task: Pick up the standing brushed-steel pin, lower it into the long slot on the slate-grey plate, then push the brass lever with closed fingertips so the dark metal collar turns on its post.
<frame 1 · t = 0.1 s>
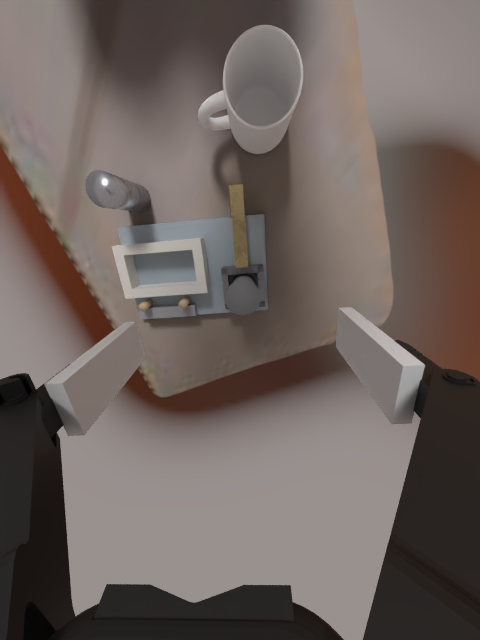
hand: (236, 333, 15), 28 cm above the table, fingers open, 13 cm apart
mug: (246, 125, 34), on the table
pin: (138, 198, 38), on the table
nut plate: (197, 269, 42), on the table
ring lever: (241, 251, 38), point 3 cm above the table, hinge at 0.0°
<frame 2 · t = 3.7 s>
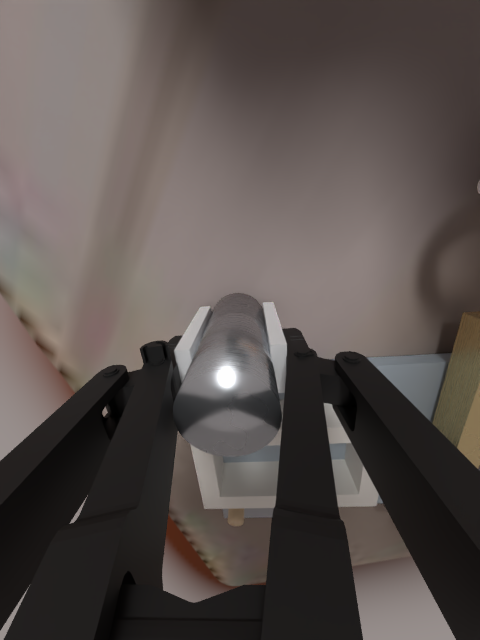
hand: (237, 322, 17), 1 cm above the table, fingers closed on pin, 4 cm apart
pin: (238, 318, 18), on the table, touching gripper
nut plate: (335, 434, 22), on the table
ring lever: (458, 431, 18), point 3 cm above the table, hinge at 0.0°
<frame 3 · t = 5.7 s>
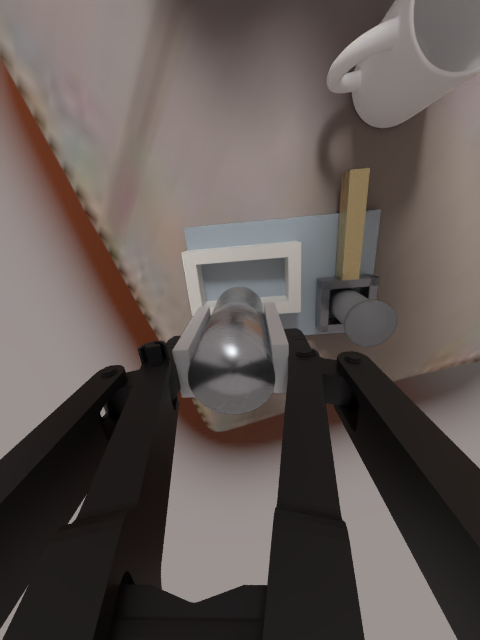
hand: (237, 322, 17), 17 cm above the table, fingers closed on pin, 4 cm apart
mug: (369, 88, 25), on the table
pin: (239, 309, 20), point 14 cm above the table, touching gripper
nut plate: (280, 281, 33), on the table
ring lever: (348, 258, 29), point 3 cm above the table, hinge at 0.0°
when the fingers open (4 cm above the table, at t = 8.2 s): pin stays where it is, resting on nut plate.
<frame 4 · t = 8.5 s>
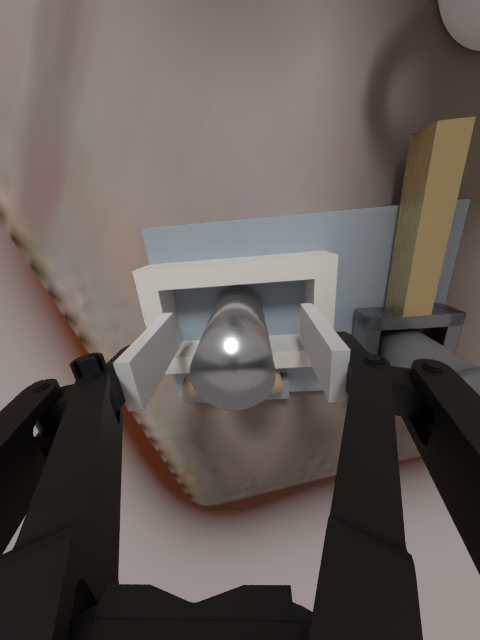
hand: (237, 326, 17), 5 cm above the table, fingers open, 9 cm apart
pin: (239, 308, 20), point 1 cm above the table, touching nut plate
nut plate: (295, 310, 21), on the table
ring lever: (412, 279, 17), point 3 cm above the table, hinge at 0.0°
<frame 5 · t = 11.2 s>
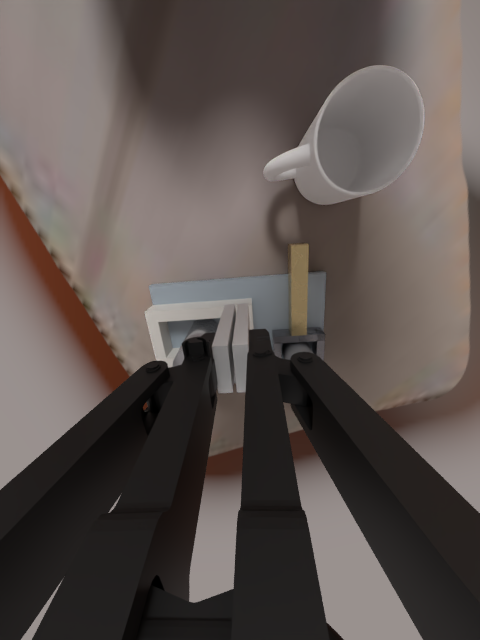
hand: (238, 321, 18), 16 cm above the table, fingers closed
mug: (310, 170, 28), on the table
pin: (205, 329, 35), point 1 cm above the table, touching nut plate
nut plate: (240, 330, 36), on the table
ring lever: (297, 315, 32), point 3 cm above the table, hinge at 0.0°
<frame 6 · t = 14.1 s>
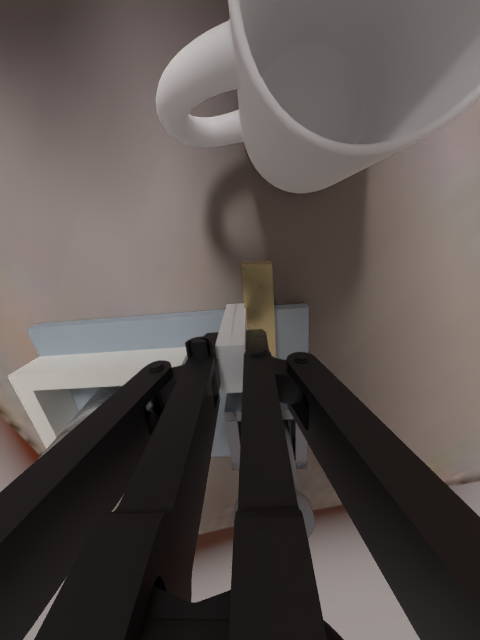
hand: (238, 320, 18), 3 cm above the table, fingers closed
mug: (275, 132, 16), on the table
pin: (125, 391, 22), point 1 cm above the table, touching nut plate
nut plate: (182, 388, 23), on the table
ring lever: (263, 377, 19), point 3 cm above the table, hinge at 0.3°, touching gripper
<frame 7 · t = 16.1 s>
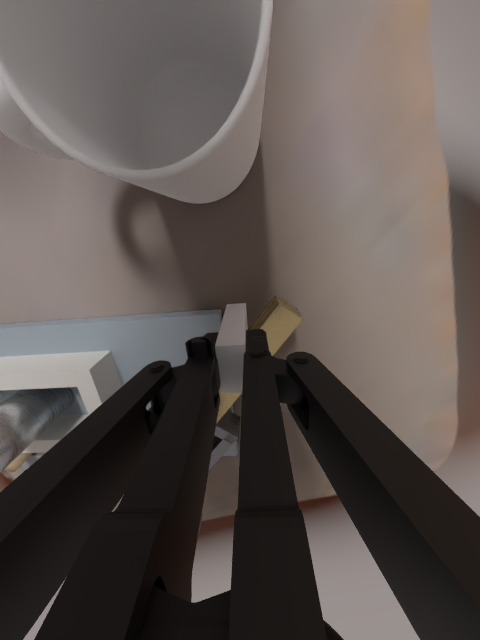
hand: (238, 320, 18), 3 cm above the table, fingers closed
mug: (172, 144, 16), on the table
pin: (53, 393, 23), point 1 cm above the table, touching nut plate
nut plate: (113, 391, 24), on the table
ring lever: (221, 391, 20), point 3 cm above the table, hinge at 38.4°, touching gripper
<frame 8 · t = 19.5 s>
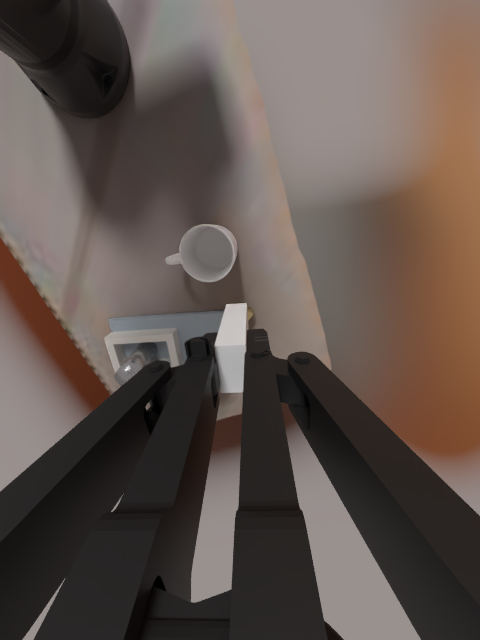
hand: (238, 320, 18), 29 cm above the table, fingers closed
mug: (206, 250, 44), on the table
pin: (148, 347, 51), point 1 cm above the table, touching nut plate
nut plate: (173, 347, 52), on the table
ring lever: (223, 344, 48), point 3 cm above the table, hinge at 38.4°
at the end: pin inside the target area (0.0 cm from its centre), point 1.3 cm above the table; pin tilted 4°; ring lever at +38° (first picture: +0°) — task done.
